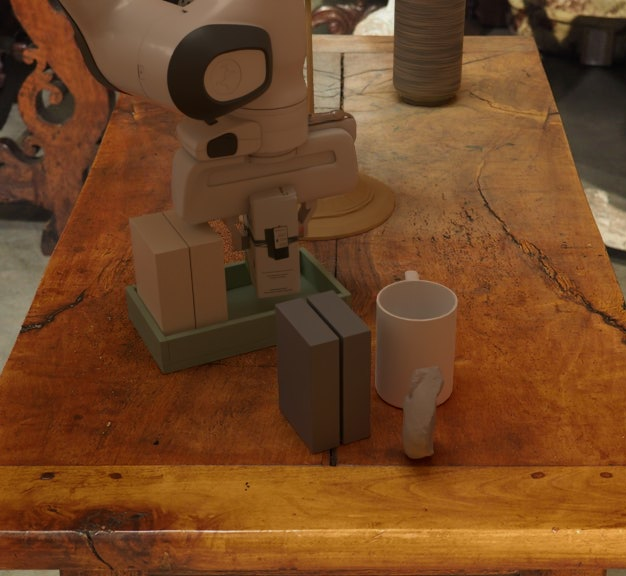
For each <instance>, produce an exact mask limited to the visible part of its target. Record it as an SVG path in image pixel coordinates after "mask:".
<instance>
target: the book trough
mask: <svg viewBox="0 0 626 576" xmlns="http://www.w3.org/2000/svg"><path fill="white" fill-rule="evenodd" d="M299 264H300V293H299V294H292V295H284V296H277V297H268V298H260V299H259V298H258V297H257V295H256V292H255V289H254V286H253V284H252V281H251V278H250V275H249V272H248V270H247V267H246V264H245V259H242V260H238V261H235V262H234V261H233V262H228V263H224V266H225V282H226V297H227V312H228V321H227V322H223V323H219V324H215V325H211V326H207V327H203V328H199V329H195V330H191V331H187V332H183V333H179V334H175V335H171V336H166V337H165V336H164V334H163V333H162V331H161V330H160V328H159V327H158V325H157V324H156V322H155V320H154V319H153V317H152V316H151V314H150V313H149V311H148V310H147V308H146V307H145V305H144V303H143V302H142V300H141V299H140V297H139V296H138V294H137V286H136V283H135V284H132V285H131V284H130V285H125V286H124V291H125V299H126V308H127V316H128V319H129V321H131V324H132V326H133V327H134V328H135V331H136V332H137V333H138V335H139V337H140V338H141V341H142V342H143V344H144V345H145V347H146V349H147V350H148V351H149V353H150V355H151V357H152V359H154V362H155V363H156V365H157V367H158V368H159V370H160V371H161V373H162V374H163V375H166V374H171V373H174V372H178V371H182V370H187V369H190V368H194V367H197V366H201V365H205V364H209V363H212V362H217V361H220V360H225V359H228V358H232V357H236V356H239V355H243V354H247V353H251V352H255V351H258V350H262V349H266V348H270V347H273V346H277V343H276V318H275V304H278V303H282V302H286V301H291V300H295V299H299V298H303V299H304V300H305V301H306V297H307V296H311V295H315V294H319V293H323V292H327V291H331V290H333V291H334V292H335V293H336V294H337V295H338V296H339V297H340V298H341V299H342V300H343V301H344V302H345V303H346V304H347V305H348V306H349V307H350V308H351V309H352V293H350V291H348V290H347V288H346V287H345V286H344V285H343V284H342V283H341V282H340V281H339V280H338V279H337V278H336V277H335V276H334V275H333V274H332V273H331V272H330V271H329V270H328V269H327V268H326V267H325V266H324V265H323V264H322V263H321V262H320V261H319V260H318V258H316V257H315V256H314V255H313V254H312V253H311V252H310V250H308V249H307V248H306V247H305V246H299ZM306 302H307V301H306Z"/></svg>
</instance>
